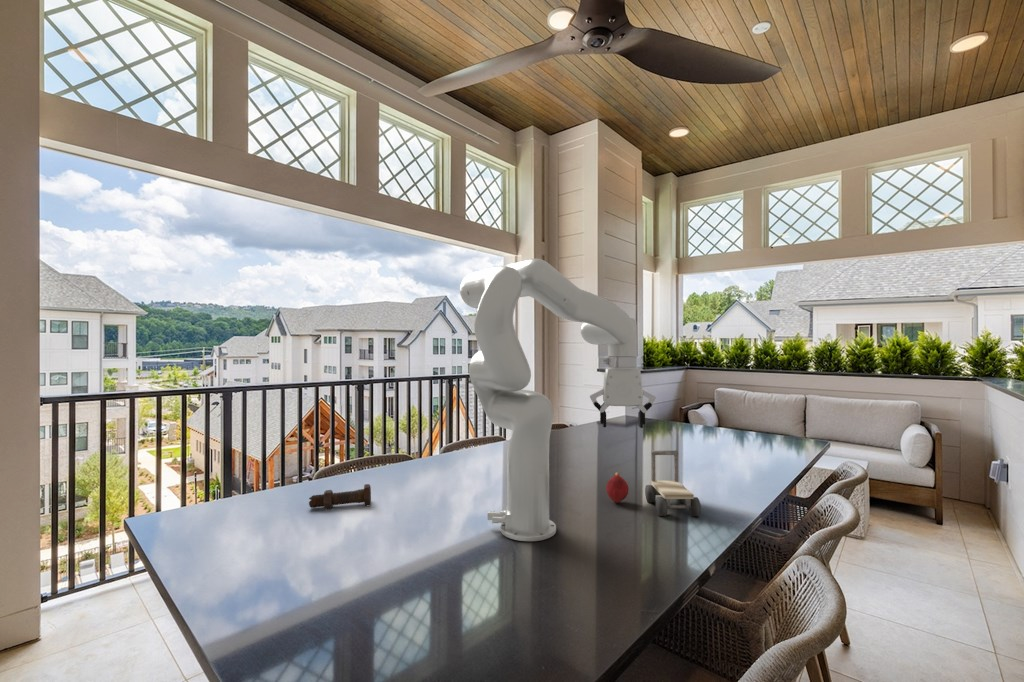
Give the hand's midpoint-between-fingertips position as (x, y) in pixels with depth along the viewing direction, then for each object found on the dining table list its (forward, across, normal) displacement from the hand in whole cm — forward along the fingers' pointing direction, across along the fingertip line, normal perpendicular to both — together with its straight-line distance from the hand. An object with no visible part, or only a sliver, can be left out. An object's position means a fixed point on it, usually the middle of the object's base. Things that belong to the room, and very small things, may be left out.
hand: (622, 426), depth 127 cm
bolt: (+21, -74, -11) cm, 77 cm away
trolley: (+20, +12, -5) cm, 24 cm away
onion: (+20, -2, -2) cm, 20 cm away
